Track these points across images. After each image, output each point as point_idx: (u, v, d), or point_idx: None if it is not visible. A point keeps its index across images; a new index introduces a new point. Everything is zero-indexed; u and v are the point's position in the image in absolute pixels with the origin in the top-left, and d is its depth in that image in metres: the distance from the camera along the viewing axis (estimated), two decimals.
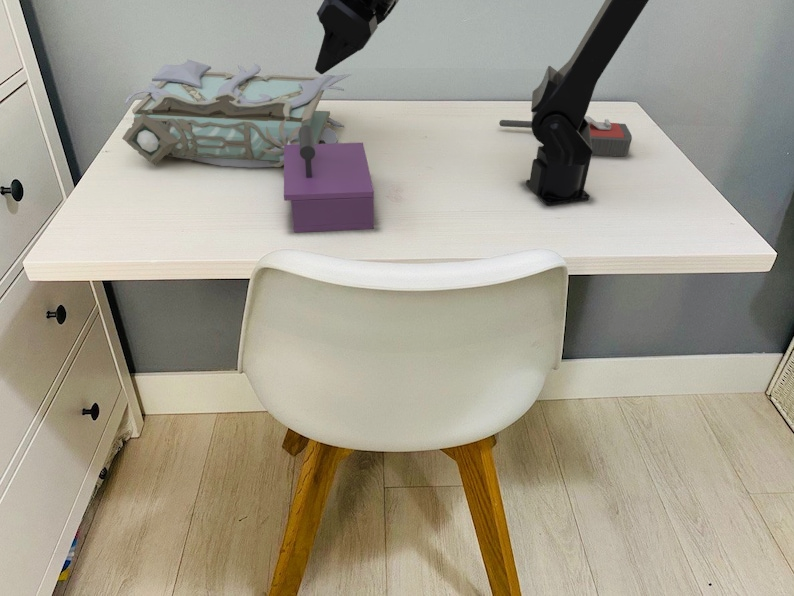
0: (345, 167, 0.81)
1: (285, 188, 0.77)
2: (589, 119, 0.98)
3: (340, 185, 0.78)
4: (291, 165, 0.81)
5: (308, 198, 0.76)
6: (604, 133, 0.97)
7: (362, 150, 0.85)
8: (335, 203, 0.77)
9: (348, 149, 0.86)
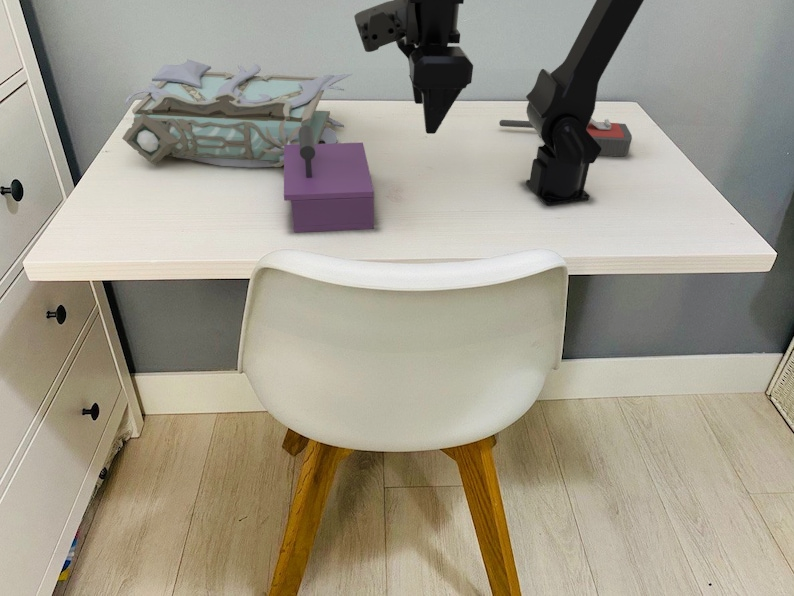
0: (345, 167, 0.81)
1: (285, 188, 0.77)
2: None
3: (340, 185, 0.78)
4: (291, 165, 0.81)
5: (308, 198, 0.76)
6: (604, 133, 0.97)
7: (362, 150, 0.85)
8: (335, 203, 0.77)
9: (348, 149, 0.86)
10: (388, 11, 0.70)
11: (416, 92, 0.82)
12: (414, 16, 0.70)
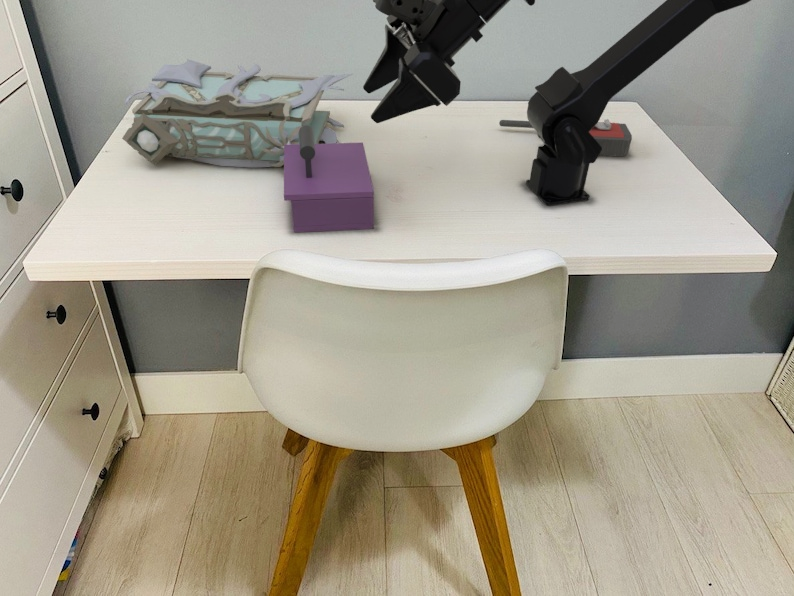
0: (345, 167, 0.81)
1: (285, 188, 0.77)
2: None
3: (340, 185, 0.78)
4: (291, 165, 0.81)
5: (308, 198, 0.76)
6: (604, 133, 0.97)
7: (362, 150, 0.85)
8: (335, 203, 0.77)
9: (348, 149, 0.86)
10: None
11: (371, 80, 0.80)
12: (437, 17, 0.70)
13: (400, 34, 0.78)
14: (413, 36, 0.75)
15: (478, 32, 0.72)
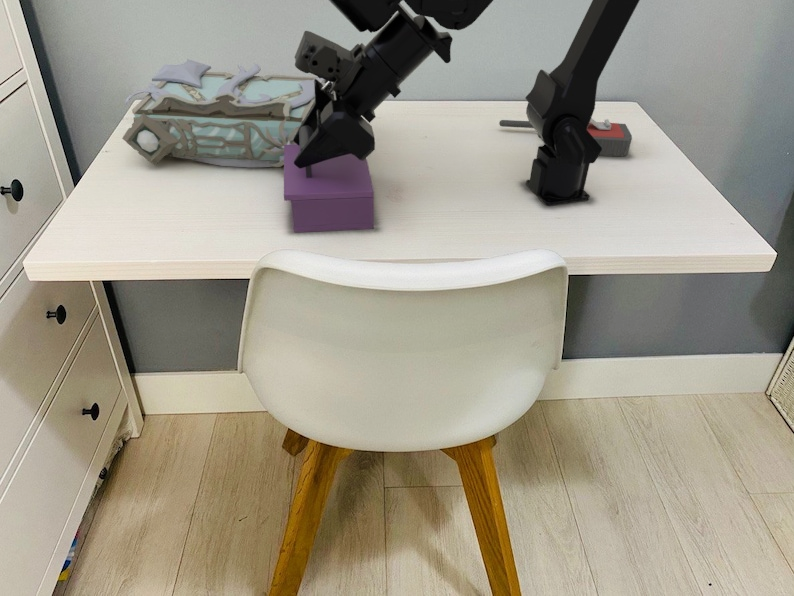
0: (345, 167, 0.81)
1: (285, 188, 0.77)
2: None
3: (340, 185, 0.78)
4: (291, 165, 0.81)
5: (308, 198, 0.76)
6: (604, 133, 0.97)
7: None
8: (335, 203, 0.77)
9: None
10: (337, 53, 0.72)
11: None
12: (354, 75, 0.72)
13: (328, 89, 0.80)
14: (337, 93, 0.77)
15: (396, 88, 0.74)
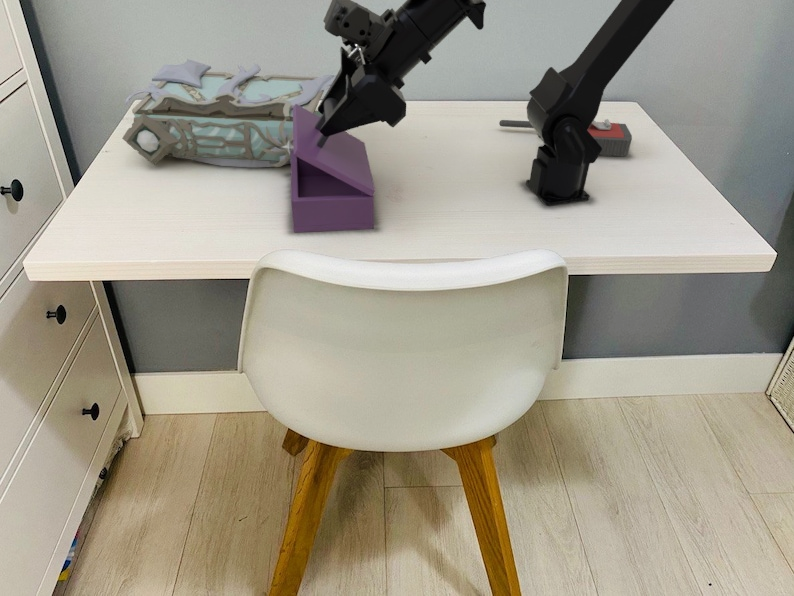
0: (350, 156, 0.81)
1: (298, 144, 0.74)
2: None
3: (346, 169, 0.77)
4: (302, 126, 0.79)
5: (316, 165, 0.74)
6: (604, 133, 0.97)
7: (364, 149, 0.85)
8: (335, 203, 0.77)
9: (352, 141, 0.85)
10: None
11: None
12: (385, 39, 0.70)
13: (355, 57, 0.78)
14: (366, 60, 0.75)
15: (427, 54, 0.72)
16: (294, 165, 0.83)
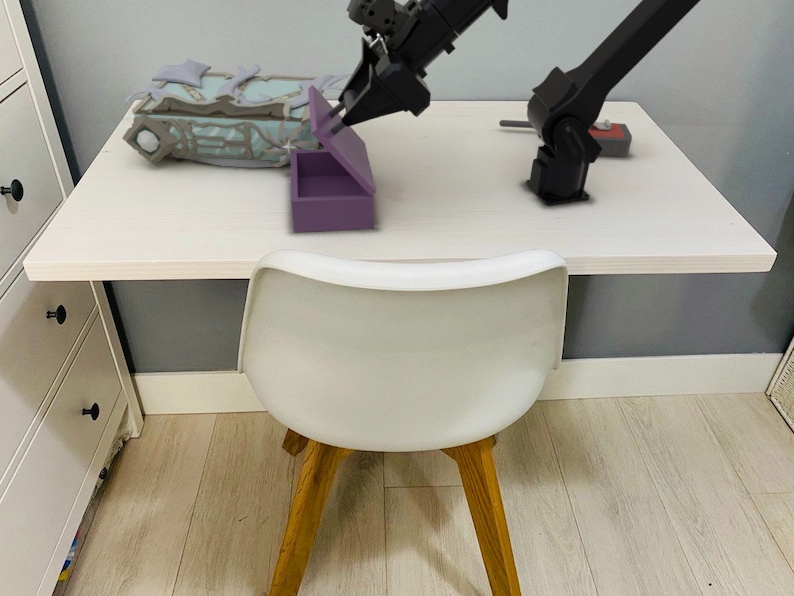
0: (356, 151, 0.80)
1: (317, 124, 0.73)
2: None
3: (354, 162, 0.76)
4: (319, 108, 0.78)
5: (329, 150, 0.73)
6: (604, 133, 0.97)
7: (365, 149, 0.85)
8: (335, 203, 0.77)
9: (356, 138, 0.85)
10: None
11: None
12: (409, 28, 0.70)
13: (376, 47, 0.78)
14: (388, 50, 0.74)
15: (450, 45, 0.72)
16: (294, 165, 0.83)
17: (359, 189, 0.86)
